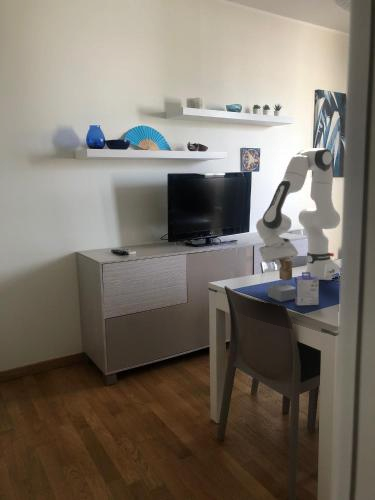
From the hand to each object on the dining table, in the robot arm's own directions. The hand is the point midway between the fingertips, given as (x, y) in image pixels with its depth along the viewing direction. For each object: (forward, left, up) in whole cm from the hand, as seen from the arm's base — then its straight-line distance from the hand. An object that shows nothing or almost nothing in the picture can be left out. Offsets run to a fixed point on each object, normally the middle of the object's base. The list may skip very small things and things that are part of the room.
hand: (286, 266), depth 209 cm
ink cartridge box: (+7, +23, -13) cm, 27 cm away
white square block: (+10, +9, -13) cm, 18 cm away
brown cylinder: (0, -1, -7) cm, 7 cm away
